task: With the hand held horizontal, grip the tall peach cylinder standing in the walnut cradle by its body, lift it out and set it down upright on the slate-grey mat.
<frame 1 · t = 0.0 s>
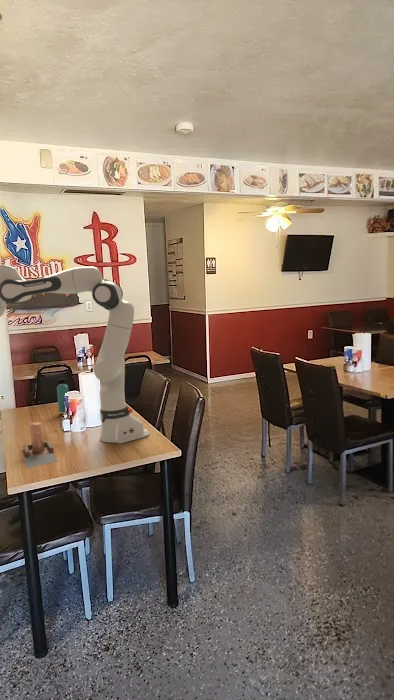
mat: (40, 461, 189), on the table
tall peach cylinder: (38, 450, 200), point 1 cm above the table, touching cradle
beverage bottle: (64, 414, 261), on the table
cradle: (38, 451, 201), on the table
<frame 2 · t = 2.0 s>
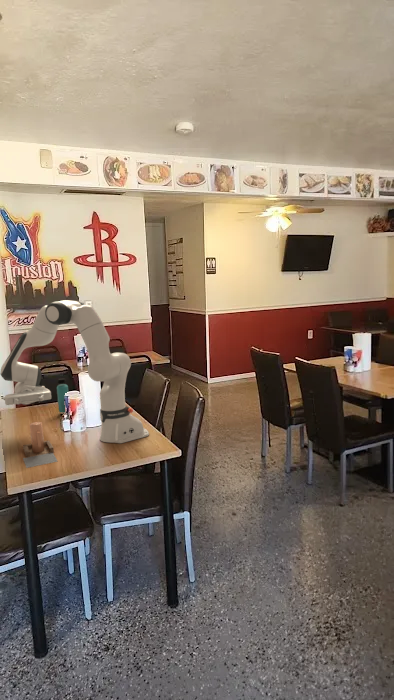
hand: (30, 400, 208), 20 cm above the table, tool horizontal, fingers open, 8 cm apart
nothing on the table moved.
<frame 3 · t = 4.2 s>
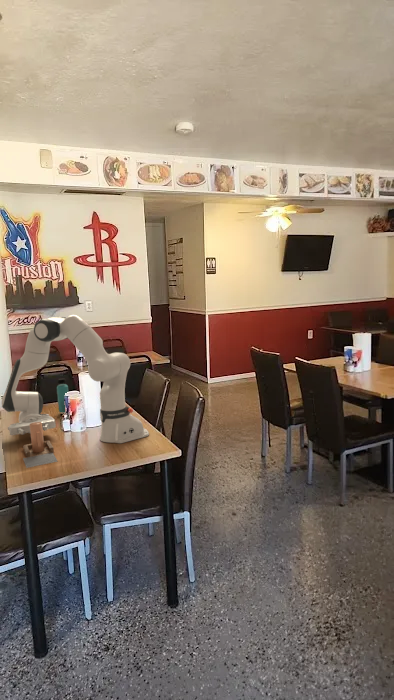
hand: (34, 430, 207), 7 cm above the table, tool horizontal, fingers open, 8 cm apart
nothing on the table moved.
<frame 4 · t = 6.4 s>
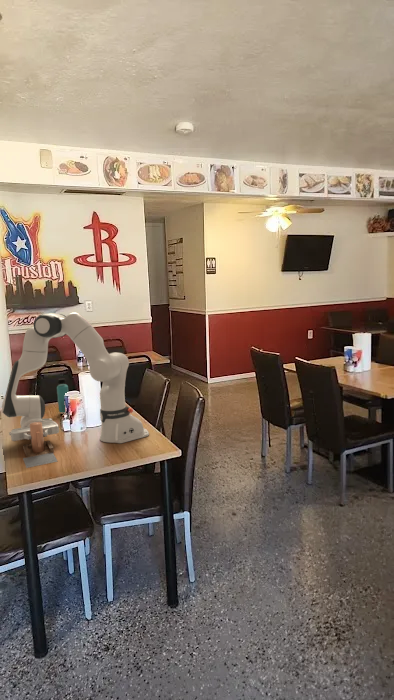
hand: (37, 436, 199), 7 cm above the table, tool horizontal, fingers closed on tall peach cylinder, 5 cm apart
tall peach cylinder: (38, 450, 200), point 1 cm above the table, touching cradle, gripper
everything else where it was.
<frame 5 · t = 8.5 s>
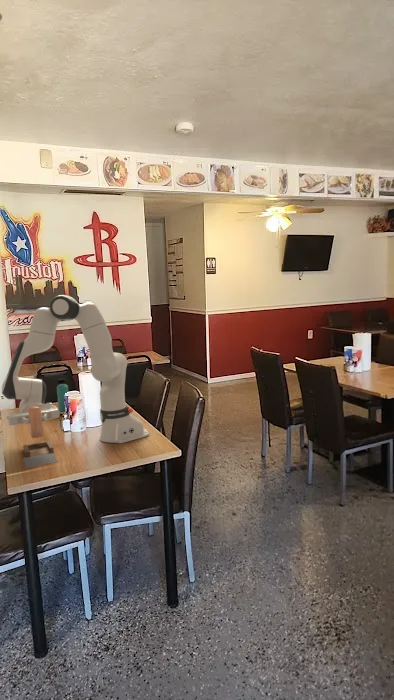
hand: (36, 420, 189), 17 cm above the table, tool horizontal, fingers closed on tall peach cylinder, 5 cm apart
tall peach cylinder: (37, 435, 190), point 10 cm above the table, touching gripper
everything else where it was.
when the fingers open (8 cm above the table, at t = 10.8 s): tall peach cylinder stays where it is, resting on mat.
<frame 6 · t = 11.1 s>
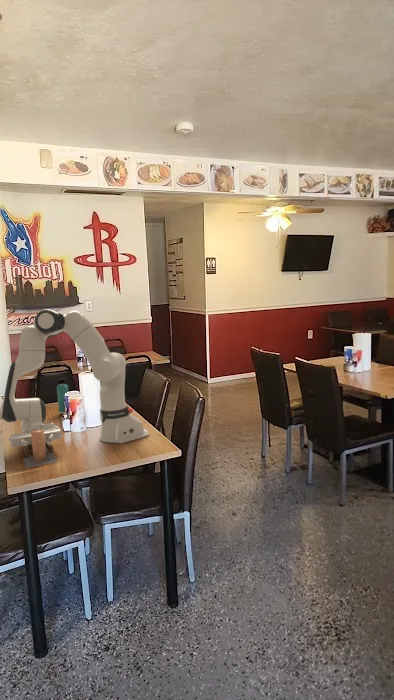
hand: (38, 442, 187), 8 cm above the table, tool horizontal, fingers open, 8 cm apart
tall peach cylinder: (40, 459, 189), point 1 cm above the table, touching mat
everything else where it was.
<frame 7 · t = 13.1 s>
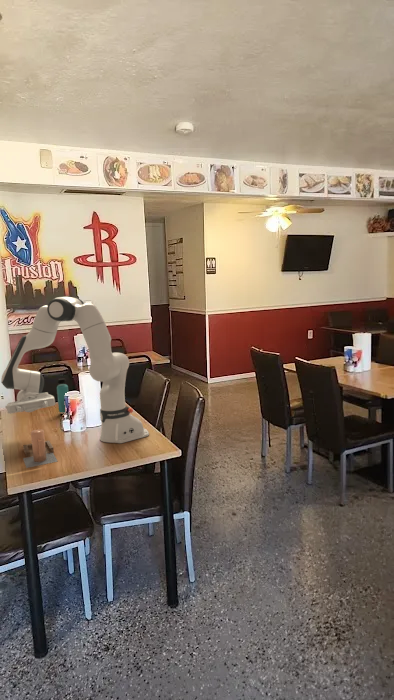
hand: (33, 407, 199), 19 cm above the table, tool horizontal, fingers open, 8 cm apart
nothing on the table moved.
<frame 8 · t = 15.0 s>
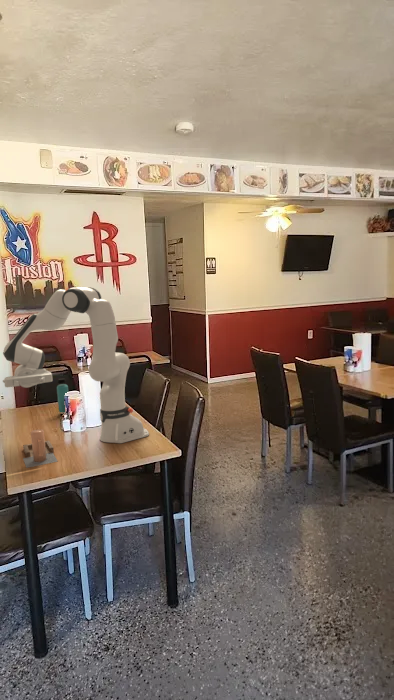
hand: (30, 382, 200), 30 cm above the table, tool horizontal, fingers open, 8 cm apart
nothing on the table moved.
at the end: tall peach cylinder inside the target area (0.1 cm from its centre), point 0.6 cm above the table; tall peach cylinder tilted 0°; the gripper is holding nothing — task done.
